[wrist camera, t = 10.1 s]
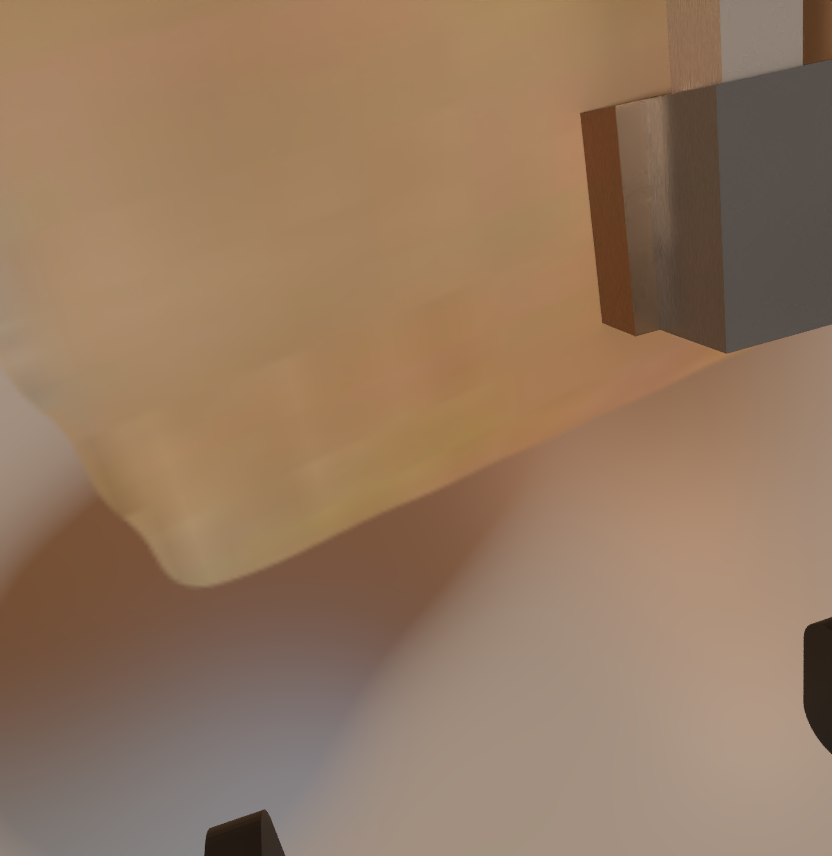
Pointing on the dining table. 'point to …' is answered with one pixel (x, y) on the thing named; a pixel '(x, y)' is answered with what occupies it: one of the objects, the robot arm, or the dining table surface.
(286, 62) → the dining table surface
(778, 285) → the sleeve
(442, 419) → the dining table surface
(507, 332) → the dining table surface
